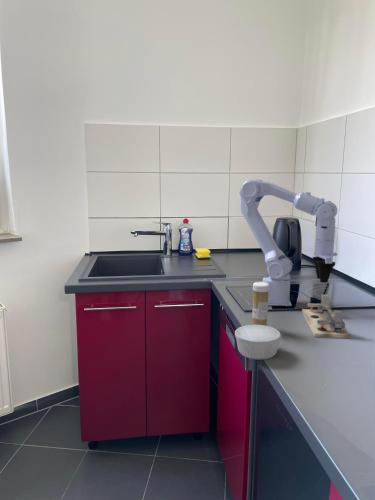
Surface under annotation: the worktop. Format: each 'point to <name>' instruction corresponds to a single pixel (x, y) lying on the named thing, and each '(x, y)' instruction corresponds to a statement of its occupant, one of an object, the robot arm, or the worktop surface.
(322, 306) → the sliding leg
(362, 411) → the worktop surface
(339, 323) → the fixed leg
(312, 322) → the board
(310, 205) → the robot arm
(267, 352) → the ramekin
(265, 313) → the sprinkles bottle
